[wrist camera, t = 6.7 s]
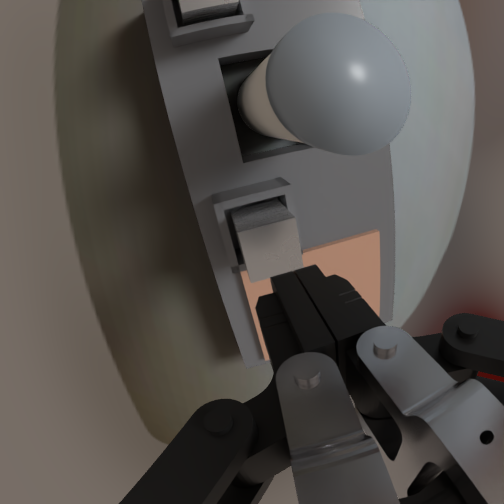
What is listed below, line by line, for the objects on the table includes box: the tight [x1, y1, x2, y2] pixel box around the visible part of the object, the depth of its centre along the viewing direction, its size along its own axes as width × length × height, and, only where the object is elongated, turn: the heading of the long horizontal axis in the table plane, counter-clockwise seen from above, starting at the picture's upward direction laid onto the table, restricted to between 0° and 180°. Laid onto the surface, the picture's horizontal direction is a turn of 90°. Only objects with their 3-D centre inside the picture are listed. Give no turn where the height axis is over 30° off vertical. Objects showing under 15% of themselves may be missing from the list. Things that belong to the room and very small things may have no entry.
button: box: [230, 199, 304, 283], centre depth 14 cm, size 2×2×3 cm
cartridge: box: [237, 13, 411, 156], centre depth 12 cm, size 5×5×10 cm
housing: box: [142, 0, 395, 369], centre depth 17 cm, size 25×12×4 cm, turn 13°
